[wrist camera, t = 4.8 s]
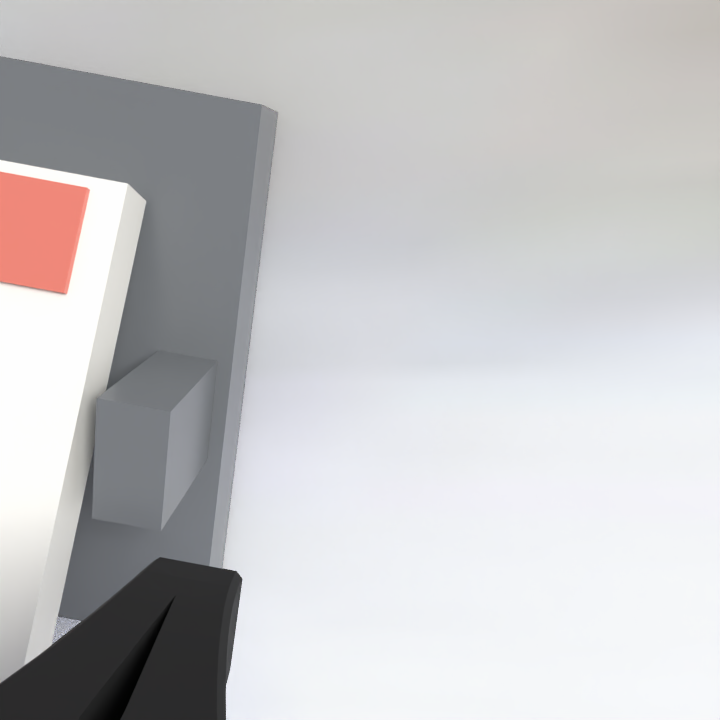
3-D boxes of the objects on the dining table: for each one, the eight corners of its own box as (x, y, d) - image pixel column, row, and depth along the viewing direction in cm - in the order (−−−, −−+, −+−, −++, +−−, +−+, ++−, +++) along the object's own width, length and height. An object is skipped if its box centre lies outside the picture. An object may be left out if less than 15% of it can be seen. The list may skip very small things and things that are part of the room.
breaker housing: (218, 599, 21) (158, 743, 16) (-91, 541, 21) (-255, 667, 16) (278, 112, 16) (219, 84, 11) (-129, 37, 16) (-387, -28, 11)
